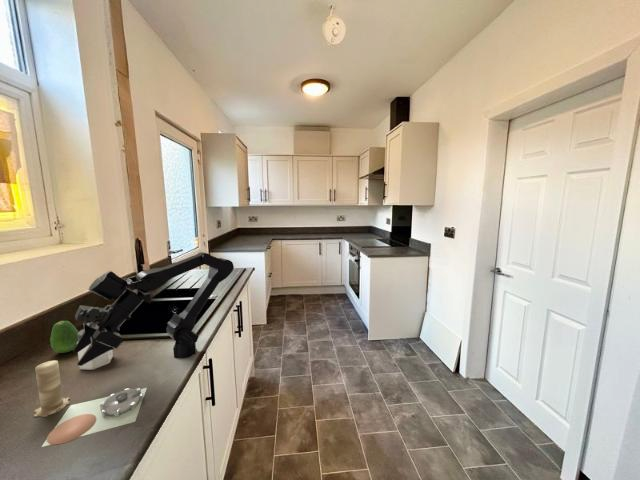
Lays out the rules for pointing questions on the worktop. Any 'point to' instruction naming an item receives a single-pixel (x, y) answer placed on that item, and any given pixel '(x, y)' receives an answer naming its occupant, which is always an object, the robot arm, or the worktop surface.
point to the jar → (96, 361)
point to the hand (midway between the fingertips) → (76, 358)
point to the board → (87, 421)
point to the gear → (121, 402)
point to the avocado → (63, 337)
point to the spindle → (49, 389)
